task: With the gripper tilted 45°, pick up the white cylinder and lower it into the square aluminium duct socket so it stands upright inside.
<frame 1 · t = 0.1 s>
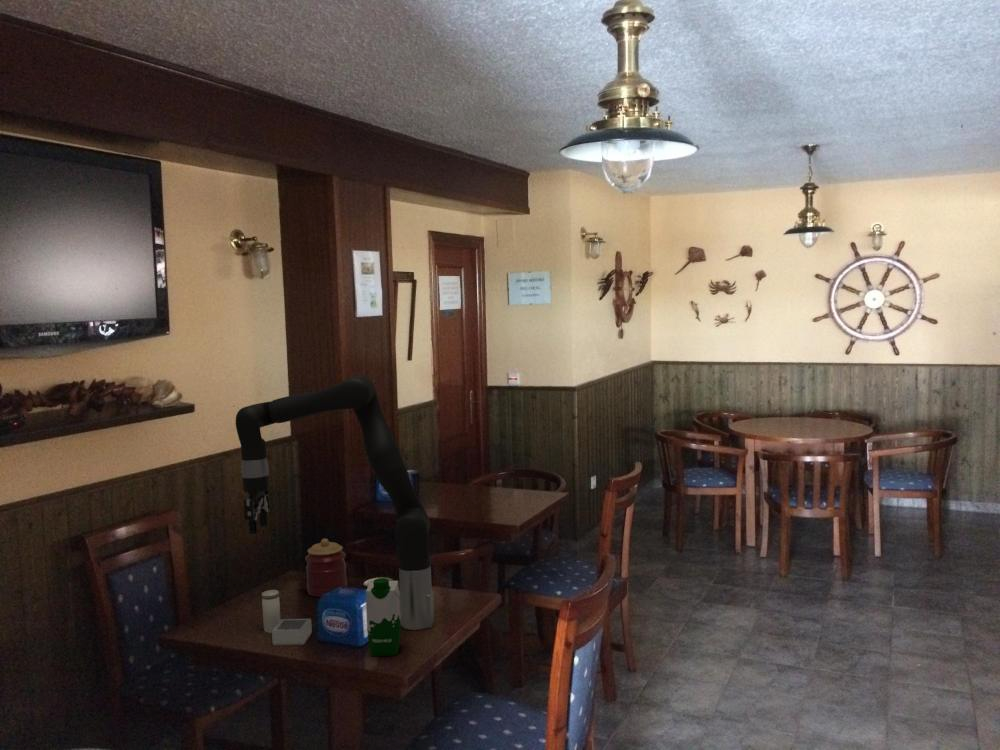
hand: (259, 529, 240), 29 cm above the table, tool pointing down, fingers open, 8 cm apart
canister: (327, 592, 272), on the table
milk carton: (385, 651, 223), on the table
duct socket: (292, 638, 233), on the table
white cylinder: (272, 629, 241), on the table
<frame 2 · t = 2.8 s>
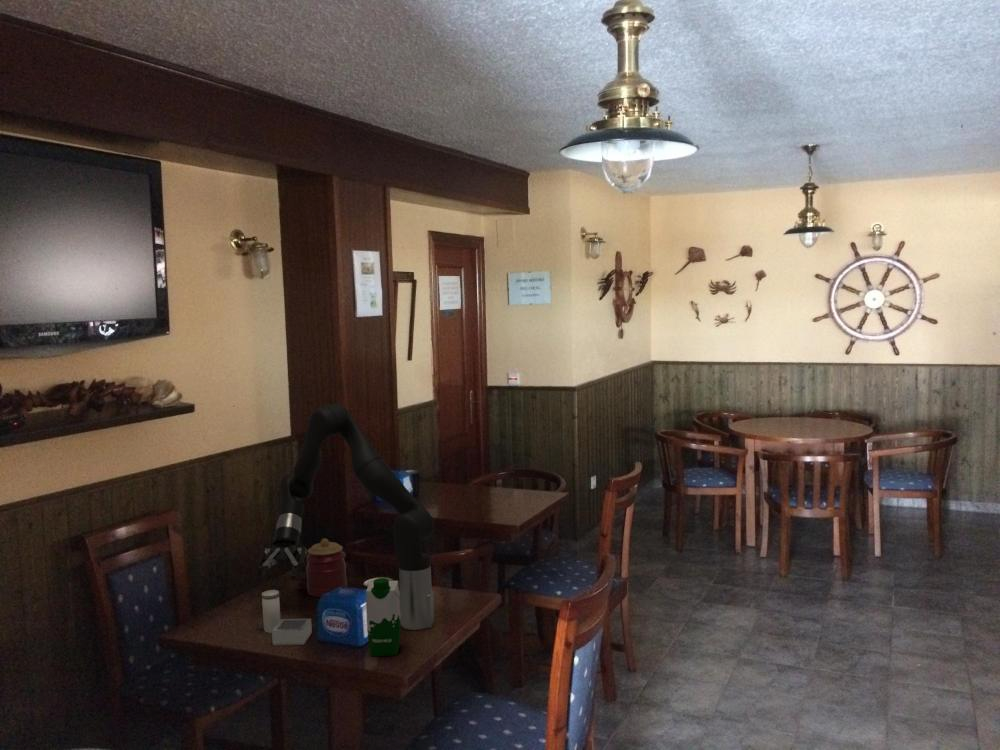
hand: (278, 579, 248), 12 cm above the table, tool tilted 45°, fingers open, 8 cm apart
nothing on the table moved.
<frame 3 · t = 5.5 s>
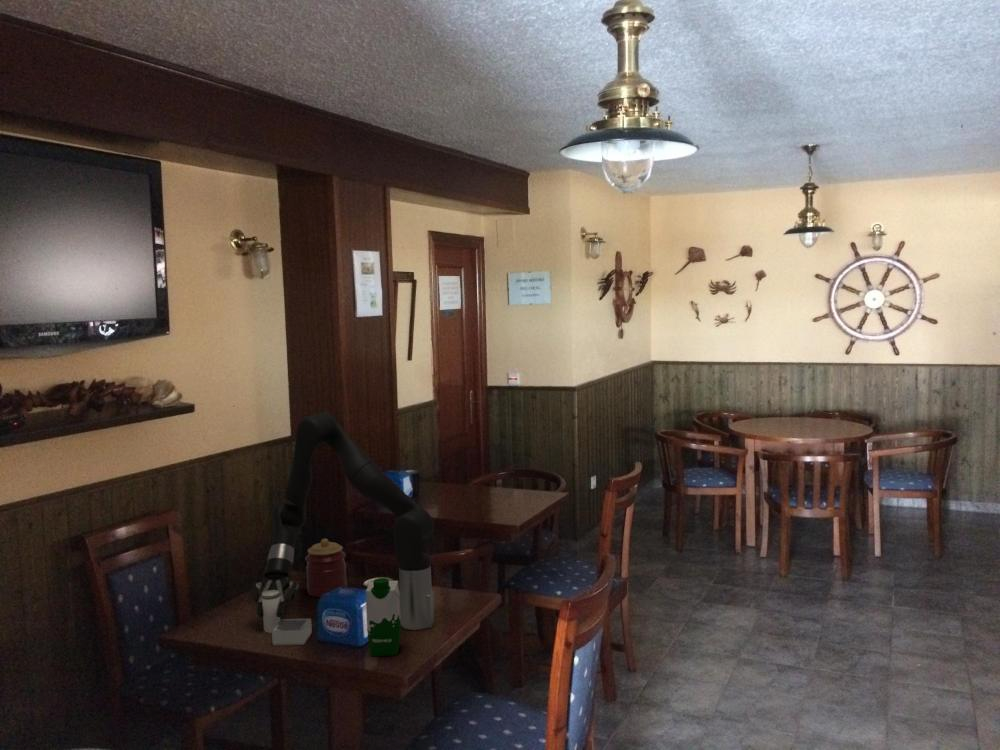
hand: (269, 616, 239), 5 cm above the table, tool tilted 45°, fingers closed on white cylinder, 4 cm apart
white cylinder: (272, 629, 241), on the table, touching gripper
everything else where it was.
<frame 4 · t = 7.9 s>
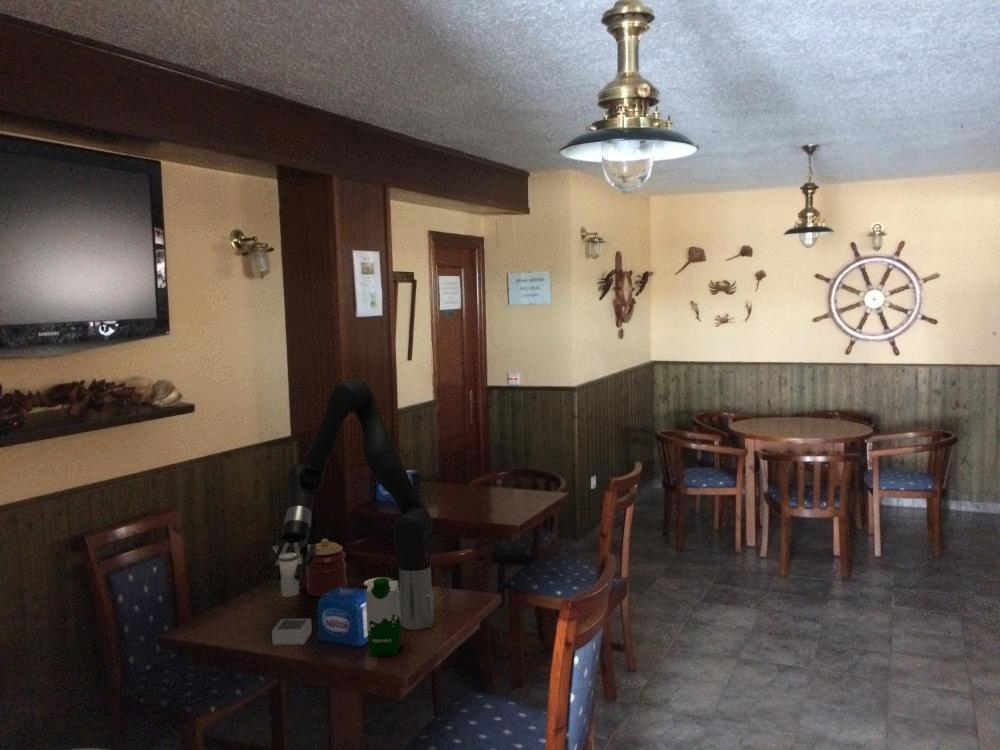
hand: (287, 579, 230), 18 cm above the table, tool tilted 45°, fingers closed on white cylinder, 4 cm apart
white cylinder: (290, 593, 233), point 13 cm above the table, touching gripper
everything else where it was.
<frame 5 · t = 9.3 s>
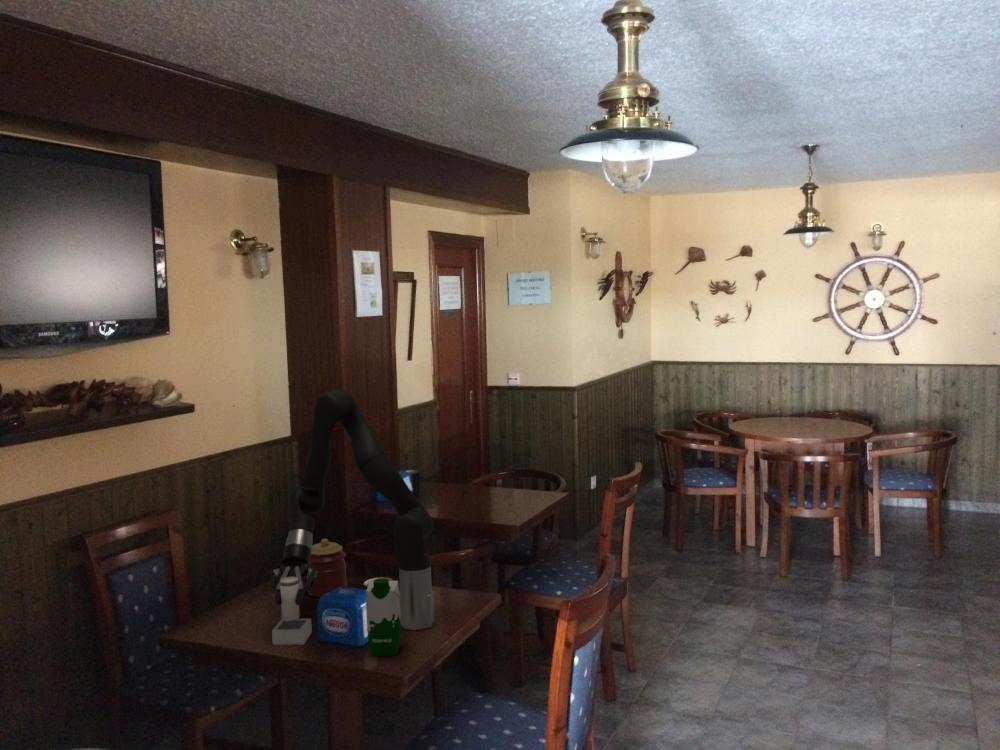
hand: (288, 603, 231), 11 cm above the table, tool tilted 45°, fingers closed on white cylinder, 4 cm apart
white cylinder: (290, 617, 233), point 6 cm above the table, touching gripper
everything else where it was.
when the fingers open (7 cm above the table, at t = 10.5 s): white cylinder drops 1 cm, resting on duct socket.
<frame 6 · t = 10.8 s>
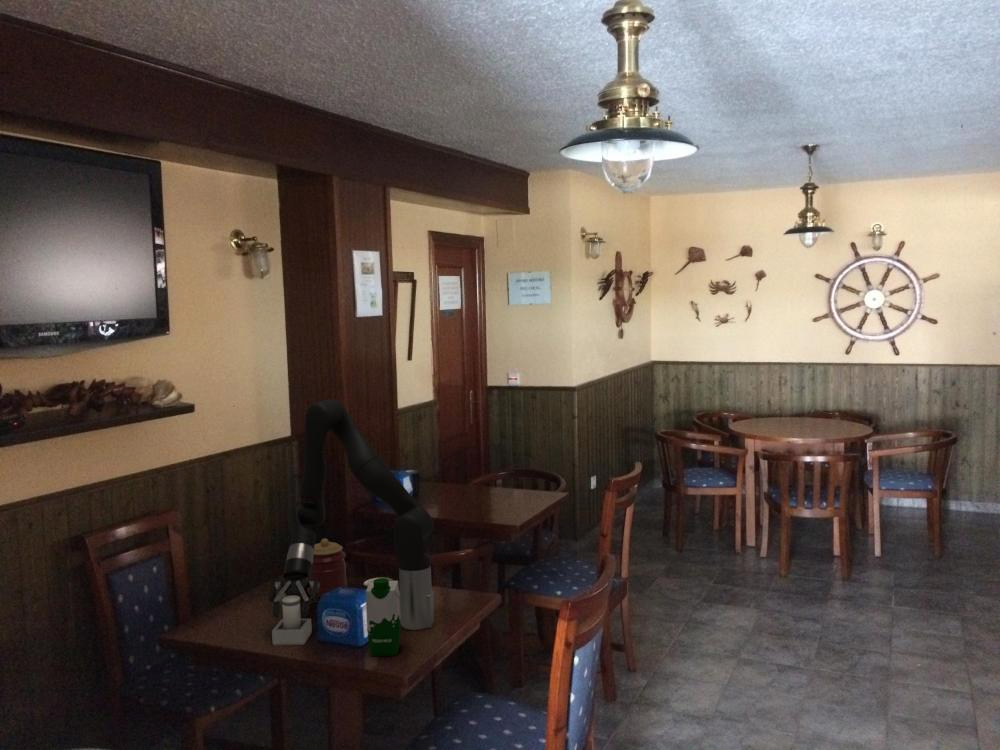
hand: (289, 616, 231), 7 cm above the table, tool tilted 45°, fingers open, 7 cm apart
white cylinder: (292, 636, 233), point 1 cm above the table, touching duct socket
everything else where it was.
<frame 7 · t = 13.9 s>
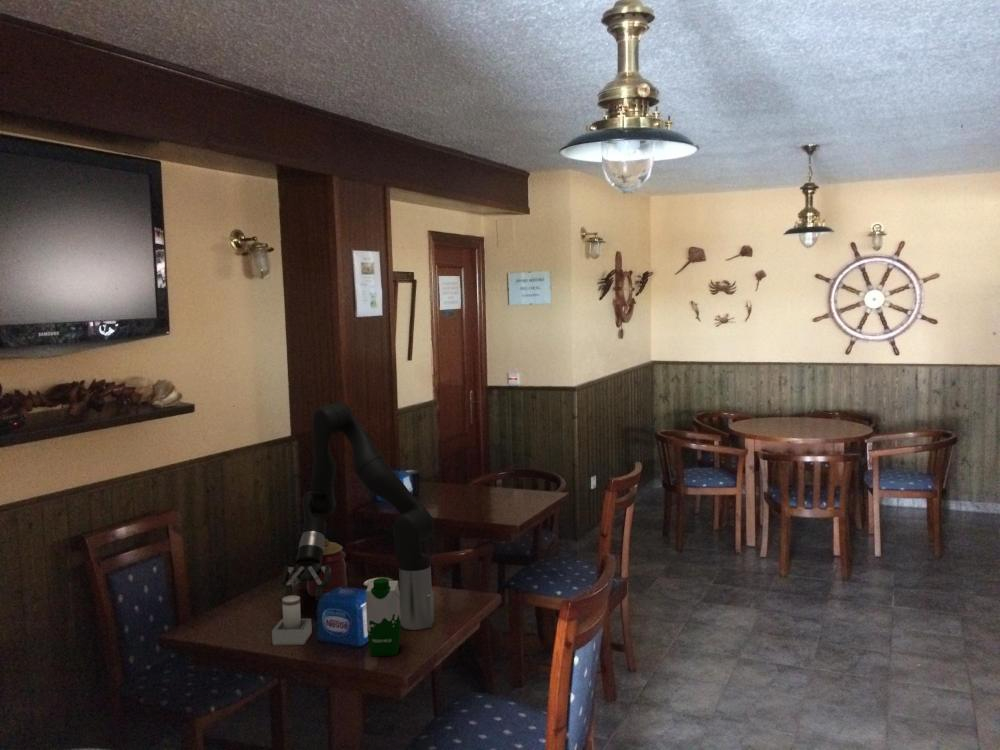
hand: (302, 599, 244), 7 cm above the table, tool tilted 45°, fingers open, 8 cm apart
nothing on the table moved.
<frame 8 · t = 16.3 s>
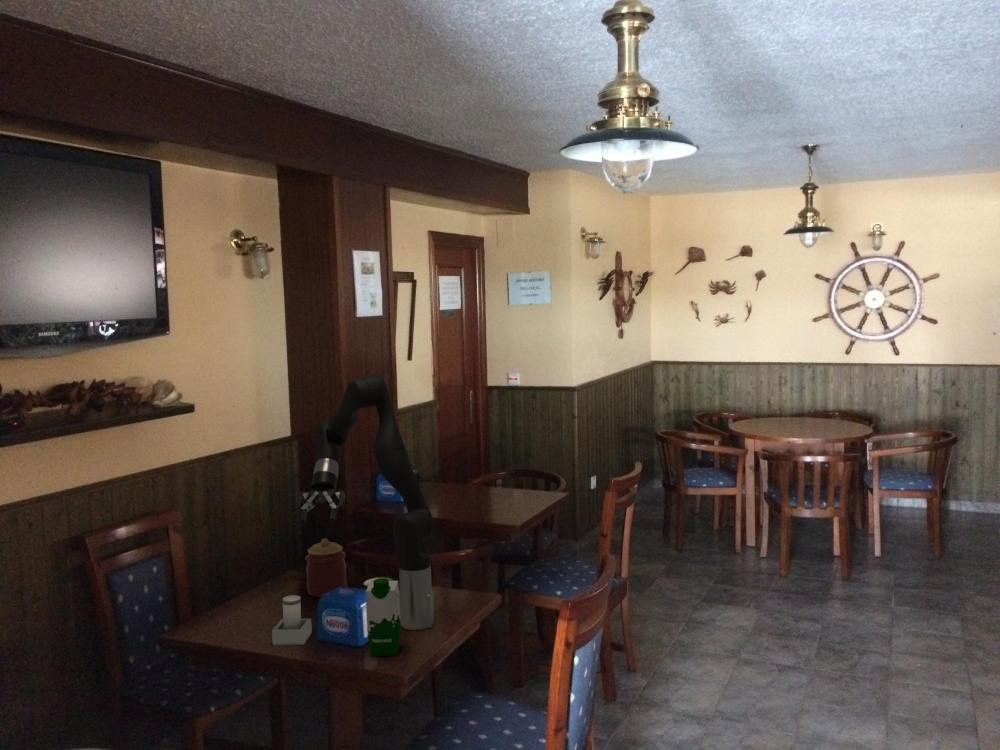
hand: (317, 522, 248), 29 cm above the table, tool tilted 45°, fingers open, 8 cm apart
nothing on the table moved.
at the end: white cylinder 0.1 cm off-centre on the duct socket, point 0.7 cm above the duct socket's base; white cylinder tilted 2°; the gripper is holding nothing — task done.
